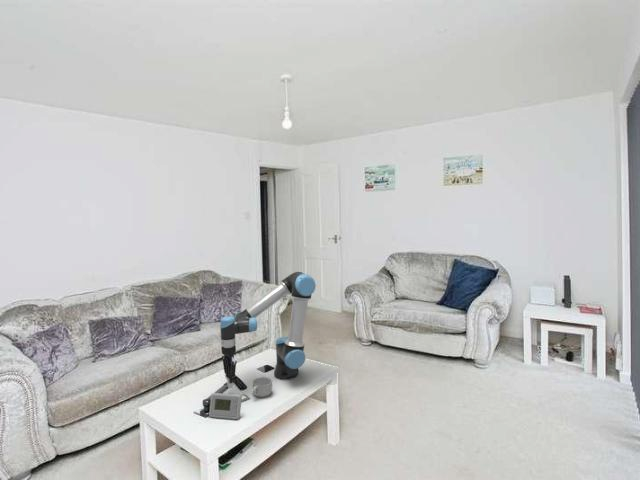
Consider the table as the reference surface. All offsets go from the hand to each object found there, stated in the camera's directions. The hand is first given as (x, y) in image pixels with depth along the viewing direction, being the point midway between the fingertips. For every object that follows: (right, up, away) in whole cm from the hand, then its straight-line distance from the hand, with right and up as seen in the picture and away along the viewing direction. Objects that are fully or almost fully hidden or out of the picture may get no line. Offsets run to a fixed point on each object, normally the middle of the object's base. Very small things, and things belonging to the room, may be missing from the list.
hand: (230, 388), depth 199 cm
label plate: (+6, -5, -3) cm, 9 cm away
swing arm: (-5, -1, -7) cm, 9 cm away
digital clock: (+2, -6, -19) cm, 20 cm away
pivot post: (-8, -6, -16) cm, 18 cm away
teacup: (+17, -5, +1) cm, 17 cm away
